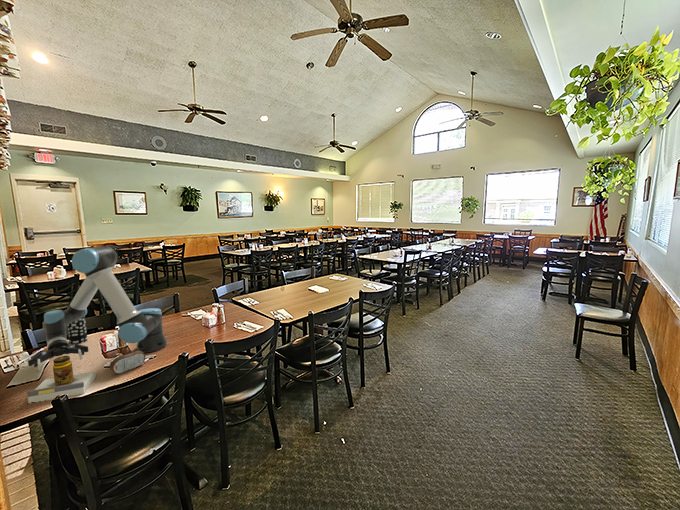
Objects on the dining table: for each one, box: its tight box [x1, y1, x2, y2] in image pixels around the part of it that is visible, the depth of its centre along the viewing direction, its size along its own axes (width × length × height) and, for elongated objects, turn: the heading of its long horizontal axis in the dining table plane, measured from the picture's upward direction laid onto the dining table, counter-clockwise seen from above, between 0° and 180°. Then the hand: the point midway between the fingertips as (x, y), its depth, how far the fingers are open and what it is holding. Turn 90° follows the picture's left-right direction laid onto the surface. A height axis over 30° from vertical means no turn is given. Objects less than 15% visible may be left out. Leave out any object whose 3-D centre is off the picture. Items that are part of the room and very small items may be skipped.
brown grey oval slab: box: [109, 350, 146, 375], centre depth 146 cm, size 15×3×8 cm, turn 148°
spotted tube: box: [66, 315, 88, 346], centre depth 175 cm, size 8×8×20 cm
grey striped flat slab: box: [26, 370, 96, 404], centre depth 129 cm, size 18×14×5 cm
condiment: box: [47, 355, 79, 387], centre depth 128 cm, size 7×8×12 cm
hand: (61, 361), depth 131 cm, fingers open, 13 cm apart
